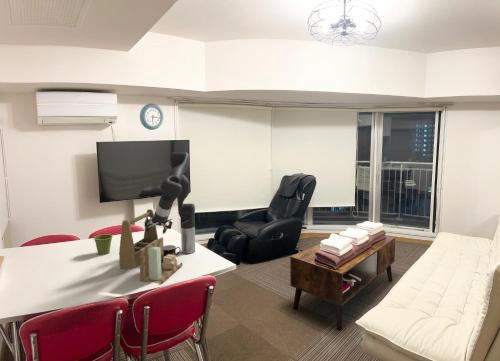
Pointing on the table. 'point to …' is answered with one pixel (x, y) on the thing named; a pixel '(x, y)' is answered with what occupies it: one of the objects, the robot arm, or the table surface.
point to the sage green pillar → (155, 263)
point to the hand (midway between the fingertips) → (155, 231)
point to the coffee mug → (170, 250)
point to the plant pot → (103, 243)
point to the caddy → (130, 250)
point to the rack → (145, 264)
